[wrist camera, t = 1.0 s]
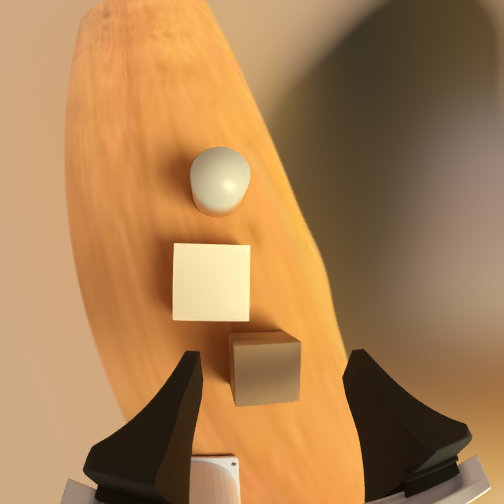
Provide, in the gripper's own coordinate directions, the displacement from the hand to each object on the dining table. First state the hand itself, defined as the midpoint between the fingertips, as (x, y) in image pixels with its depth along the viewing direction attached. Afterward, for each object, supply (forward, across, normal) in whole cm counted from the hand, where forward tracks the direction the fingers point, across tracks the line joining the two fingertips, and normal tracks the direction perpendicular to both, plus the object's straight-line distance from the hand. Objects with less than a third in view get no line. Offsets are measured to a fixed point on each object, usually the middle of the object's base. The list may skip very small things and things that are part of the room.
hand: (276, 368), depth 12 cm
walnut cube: (+9, 0, +9) cm, 13 cm away
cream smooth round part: (+16, +4, -4) cm, 17 cm away
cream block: (+12, +4, +3) cm, 13 cm away
